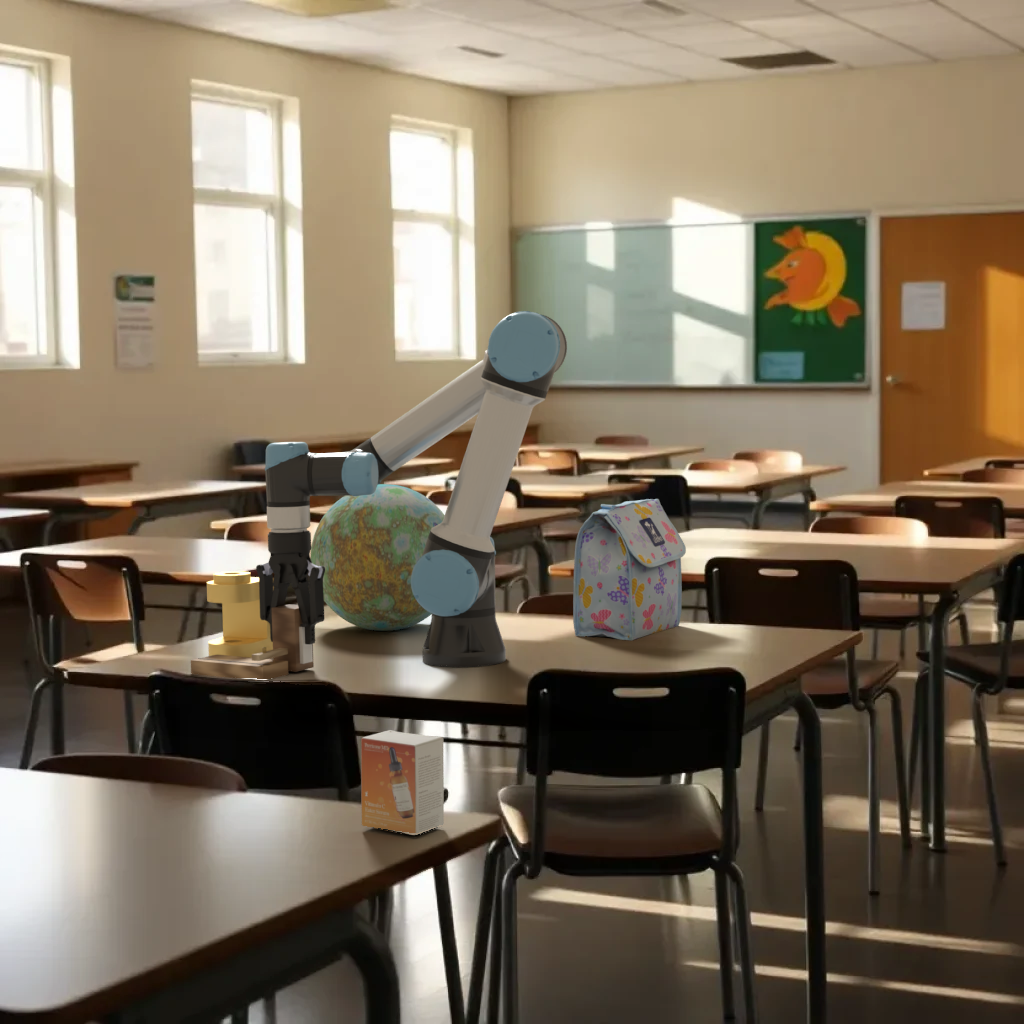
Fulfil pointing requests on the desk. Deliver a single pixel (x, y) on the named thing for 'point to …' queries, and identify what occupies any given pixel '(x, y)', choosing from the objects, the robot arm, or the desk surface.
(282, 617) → the taupe upright block
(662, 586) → the lunch bag
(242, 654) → the clamp
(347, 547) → the decorative globe
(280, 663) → the board
